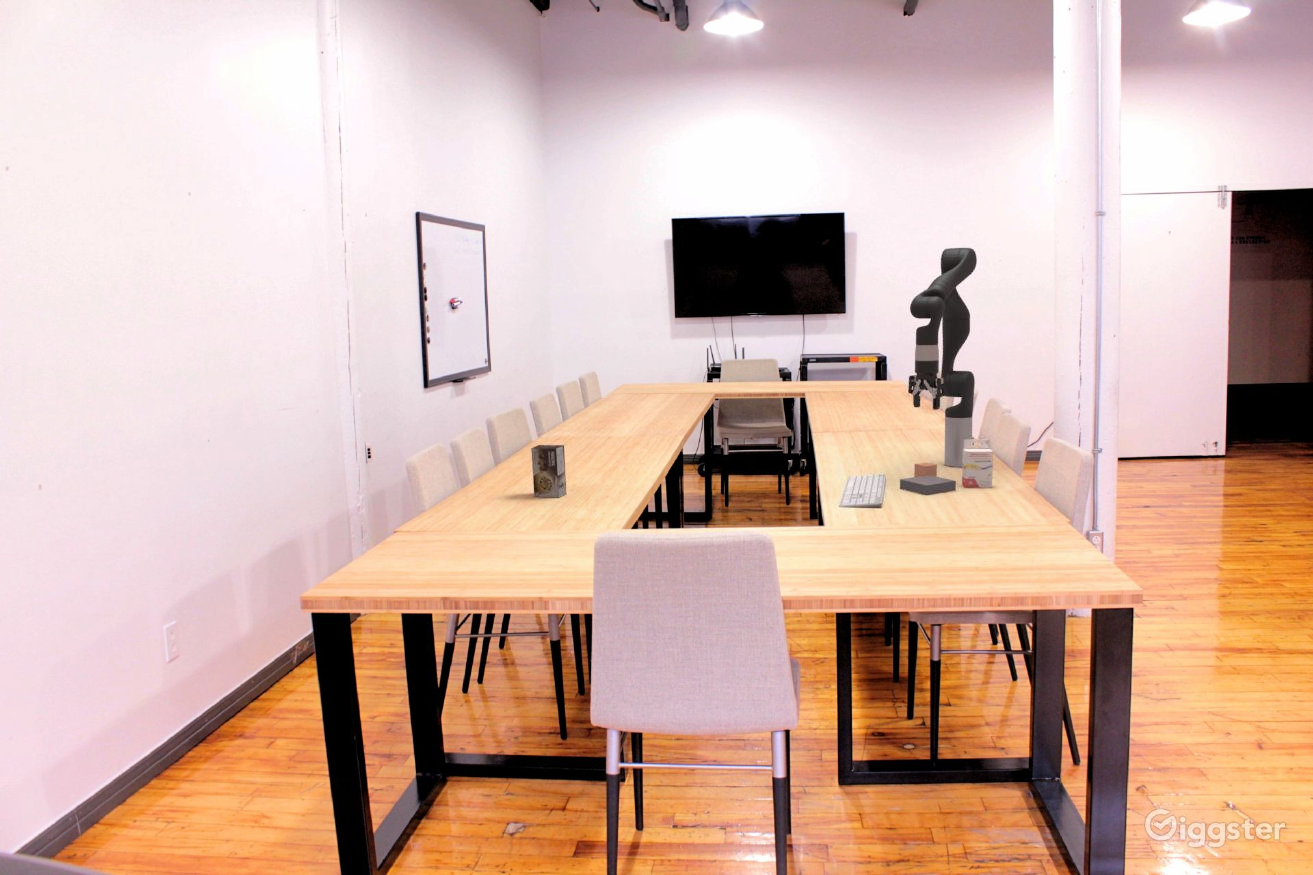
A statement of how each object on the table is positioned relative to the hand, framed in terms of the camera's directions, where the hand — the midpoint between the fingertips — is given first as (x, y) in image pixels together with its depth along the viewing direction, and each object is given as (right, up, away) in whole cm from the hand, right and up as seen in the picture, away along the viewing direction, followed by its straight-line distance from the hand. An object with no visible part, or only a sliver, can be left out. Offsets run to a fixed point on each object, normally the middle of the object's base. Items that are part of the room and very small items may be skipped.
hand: (926, 408), depth 331 cm
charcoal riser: (-3, -26, -12) cm, 29 cm away
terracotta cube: (+1, -23, +4) cm, 24 cm away
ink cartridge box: (+14, -25, -9) cm, 30 cm away
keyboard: (-23, -27, -13) cm, 38 cm away
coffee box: (-122, -28, -3) cm, 126 cm away
